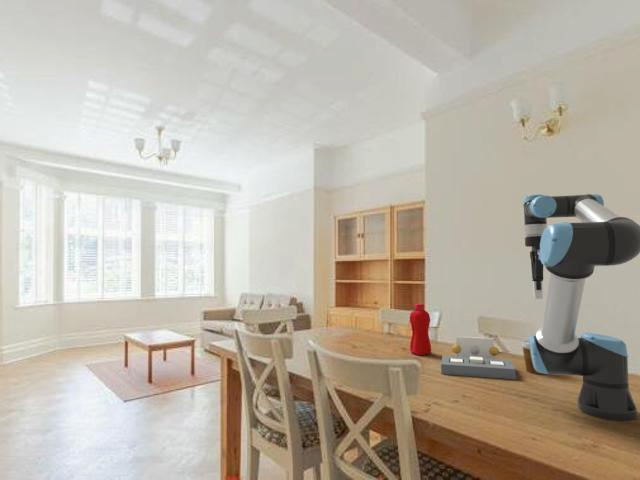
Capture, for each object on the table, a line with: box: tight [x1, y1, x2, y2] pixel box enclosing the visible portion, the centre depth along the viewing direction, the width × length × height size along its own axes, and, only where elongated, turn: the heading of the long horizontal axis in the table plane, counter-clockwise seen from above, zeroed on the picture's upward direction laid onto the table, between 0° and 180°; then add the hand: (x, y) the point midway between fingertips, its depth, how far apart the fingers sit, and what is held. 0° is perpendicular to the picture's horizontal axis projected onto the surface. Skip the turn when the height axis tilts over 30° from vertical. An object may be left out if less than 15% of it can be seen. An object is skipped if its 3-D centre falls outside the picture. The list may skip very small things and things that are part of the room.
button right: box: [490, 361, 504, 365], centre depth 168 cm, size 5×5×3 cm
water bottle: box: [408, 303, 432, 356], centre depth 204 cm, size 9×11×25 cm
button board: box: [440, 354, 517, 381], centre depth 171 cm, size 16×28×4 cm, turn 71°
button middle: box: [470, 356, 483, 364], centre depth 171 cm, size 5×5×3 cm
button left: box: [450, 358, 463, 363], centre depth 173 cm, size 5×5×3 cm
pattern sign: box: [451, 336, 500, 359], centre depth 186 cm, size 6×20×12 cm, turn 71°
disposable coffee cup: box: [521, 340, 543, 375], centre depth 169 cm, size 10×10×12 cm
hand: (538, 298), depth 152 cm, fingers closed
